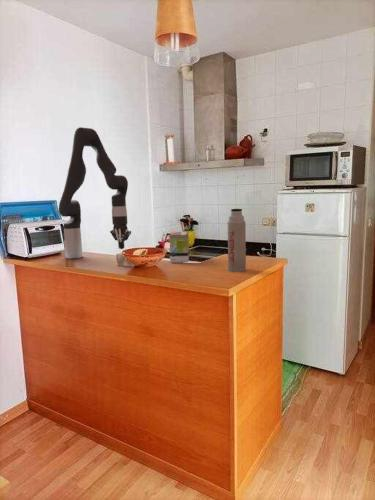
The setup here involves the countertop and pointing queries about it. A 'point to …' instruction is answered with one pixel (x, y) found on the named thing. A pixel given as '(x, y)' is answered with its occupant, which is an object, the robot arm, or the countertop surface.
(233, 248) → the thermos bottle
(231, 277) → the countertop surface
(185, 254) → the tea box
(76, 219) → the robot arm
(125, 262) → the birch block
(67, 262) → the countertop surface
